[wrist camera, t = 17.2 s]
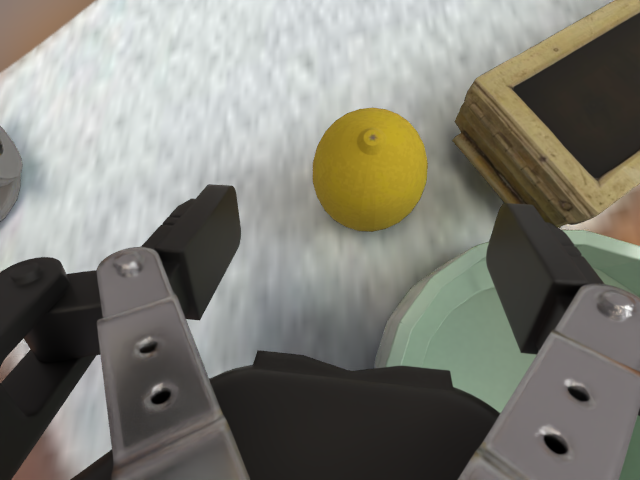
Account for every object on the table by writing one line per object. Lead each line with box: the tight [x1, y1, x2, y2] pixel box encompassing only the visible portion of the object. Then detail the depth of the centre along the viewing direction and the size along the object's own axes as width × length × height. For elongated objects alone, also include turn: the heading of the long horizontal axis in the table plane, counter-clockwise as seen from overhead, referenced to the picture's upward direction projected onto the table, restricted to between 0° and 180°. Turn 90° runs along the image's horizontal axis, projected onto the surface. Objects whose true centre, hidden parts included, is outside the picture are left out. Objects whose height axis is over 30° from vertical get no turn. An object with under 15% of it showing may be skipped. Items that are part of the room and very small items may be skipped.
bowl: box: [375, 230, 640, 480], centre depth 17 cm, size 14×14×6 cm
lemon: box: [313, 108, 428, 232], centre depth 19 cm, size 6×6×8 cm
